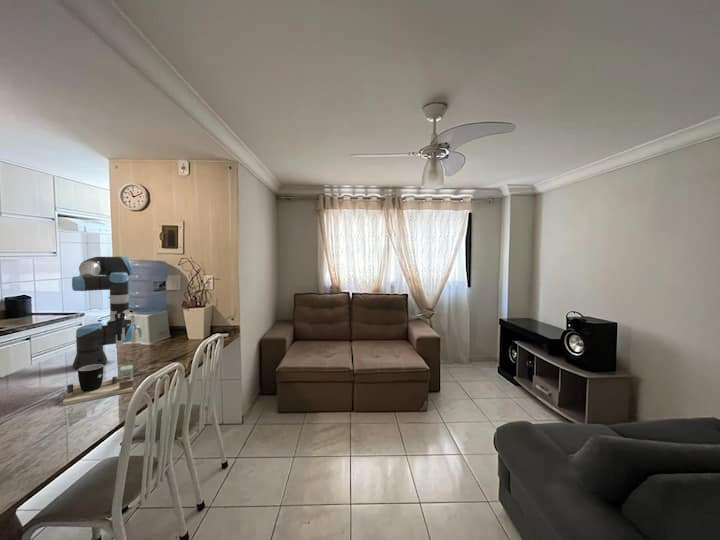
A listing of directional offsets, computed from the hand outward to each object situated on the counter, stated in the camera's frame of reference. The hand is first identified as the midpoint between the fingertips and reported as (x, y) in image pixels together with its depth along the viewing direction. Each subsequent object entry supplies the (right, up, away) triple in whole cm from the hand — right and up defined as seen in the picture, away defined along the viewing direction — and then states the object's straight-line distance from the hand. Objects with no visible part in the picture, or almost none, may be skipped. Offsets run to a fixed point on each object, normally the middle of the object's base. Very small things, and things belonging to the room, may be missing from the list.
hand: (120, 343), depth 161 cm
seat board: (+2, -19, -14) cm, 23 cm away
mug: (-2, -18, -15) cm, 23 cm away
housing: (+5, -17, -3) cm, 18 cm away
